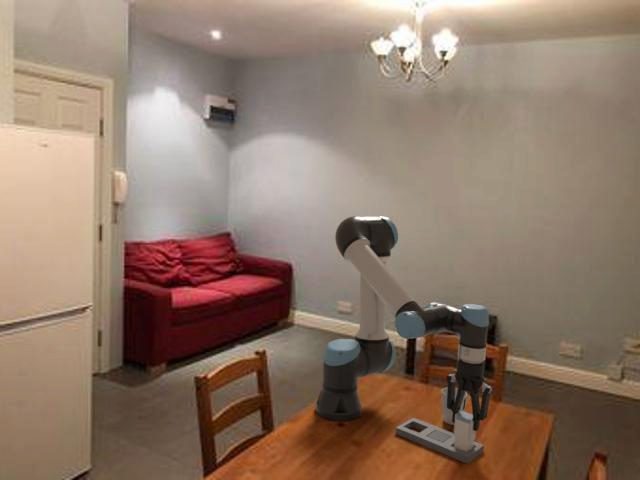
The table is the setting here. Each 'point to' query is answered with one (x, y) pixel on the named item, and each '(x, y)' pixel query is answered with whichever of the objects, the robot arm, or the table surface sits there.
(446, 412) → the cup
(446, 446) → the panel
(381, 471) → the table surface
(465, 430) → the plug
